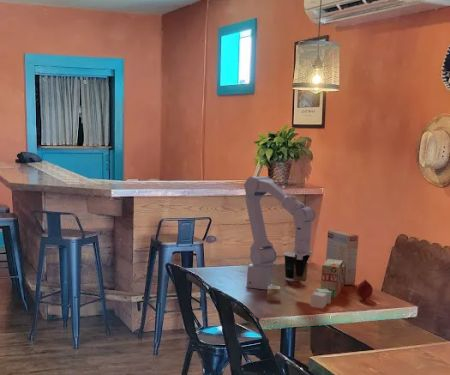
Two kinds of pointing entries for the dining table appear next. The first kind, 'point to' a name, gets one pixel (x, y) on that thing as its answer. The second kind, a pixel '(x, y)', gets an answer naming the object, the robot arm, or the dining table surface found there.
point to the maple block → (273, 293)
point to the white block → (318, 299)
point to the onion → (364, 290)
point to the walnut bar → (302, 276)
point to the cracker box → (343, 252)
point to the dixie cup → (289, 266)
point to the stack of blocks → (333, 276)
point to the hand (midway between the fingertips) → (300, 274)
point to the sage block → (326, 293)
